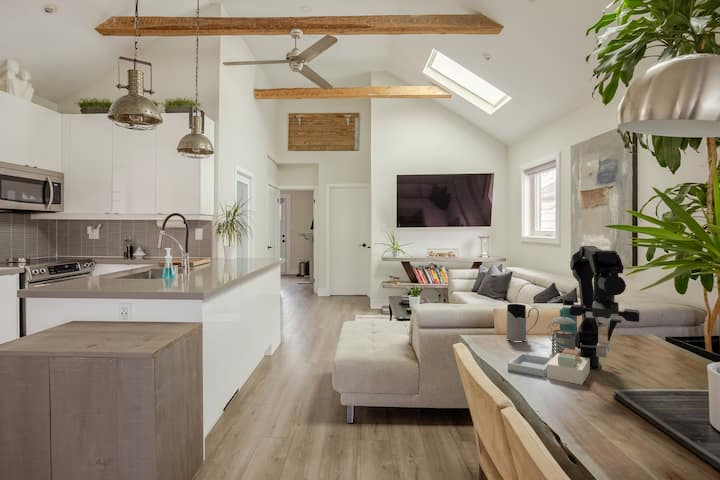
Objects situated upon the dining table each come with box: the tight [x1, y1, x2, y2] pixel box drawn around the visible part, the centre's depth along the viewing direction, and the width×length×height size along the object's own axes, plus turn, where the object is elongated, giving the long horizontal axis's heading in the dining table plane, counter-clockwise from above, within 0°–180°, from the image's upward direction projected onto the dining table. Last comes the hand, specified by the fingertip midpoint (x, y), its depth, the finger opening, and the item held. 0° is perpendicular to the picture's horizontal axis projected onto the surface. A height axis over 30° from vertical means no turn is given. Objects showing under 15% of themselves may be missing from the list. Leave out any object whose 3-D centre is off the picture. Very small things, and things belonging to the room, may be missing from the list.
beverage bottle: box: [558, 298, 579, 348], centre depth 167 cm, size 6×7×20 cm
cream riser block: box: [546, 353, 591, 386], centre depth 138 cm, size 15×10×4 cm, turn 144°
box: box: [507, 352, 553, 378], centre depth 145 cm, size 15×12×2 cm
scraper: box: [596, 324, 611, 359], centre depth 132 cm, size 14×2×8 cm, turn 145°
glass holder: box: [505, 303, 540, 341], centre depth 183 cm, size 9×14×15 cm, turn 93°
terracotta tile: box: [562, 348, 580, 361], centre depth 141 cm, size 4×4×2 cm
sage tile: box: [558, 353, 576, 367], centre depth 135 cm, size 4×4×2 cm
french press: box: [547, 290, 576, 358], centre depth 157 cm, size 10×12×25 cm
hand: (603, 340), depth 132 cm, fingers closed on scraper, 2 cm apart
